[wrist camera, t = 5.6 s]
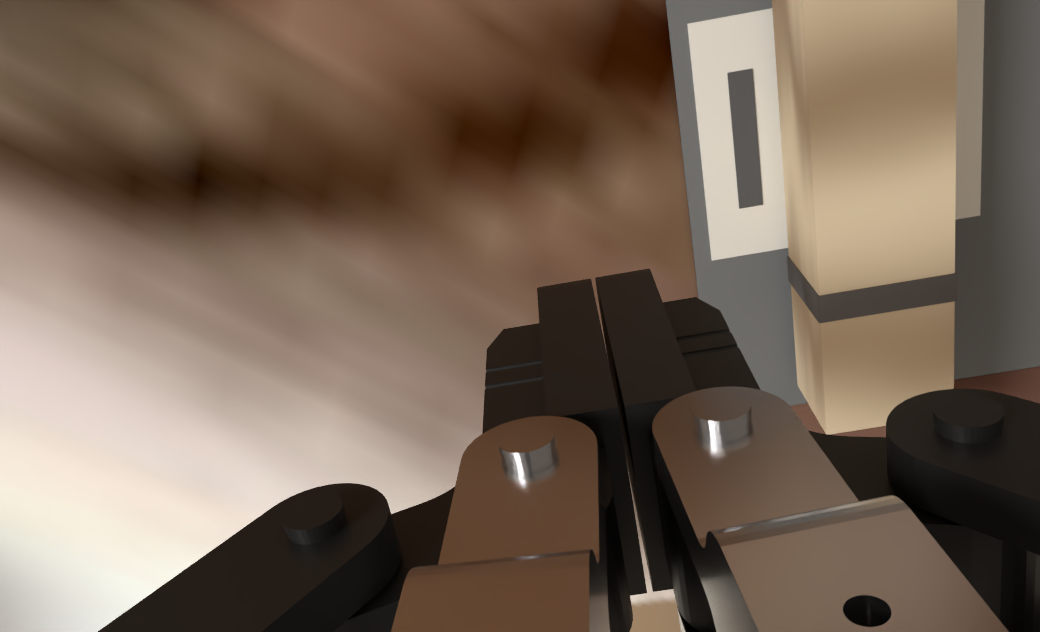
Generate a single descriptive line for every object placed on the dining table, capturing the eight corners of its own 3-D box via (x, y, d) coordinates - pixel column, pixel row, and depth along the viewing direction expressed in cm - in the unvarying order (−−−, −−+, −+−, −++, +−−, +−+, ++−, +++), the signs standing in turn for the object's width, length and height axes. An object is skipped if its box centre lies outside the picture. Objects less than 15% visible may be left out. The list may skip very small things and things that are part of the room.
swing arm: (716, -536, 21) (762, -630, 17) (920, -581, 21) (1011, -686, 17) (784, 386, 30) (822, 455, 26) (924, 364, 30) (983, 431, 26)
